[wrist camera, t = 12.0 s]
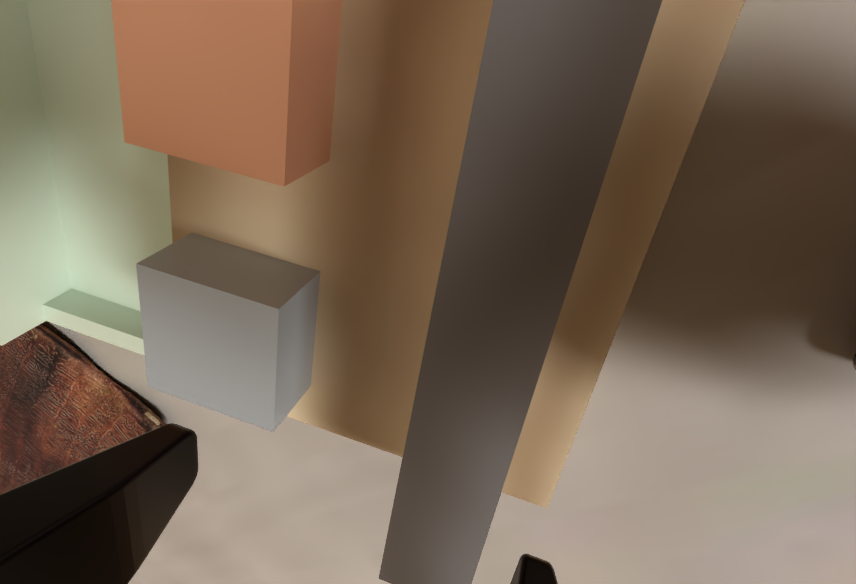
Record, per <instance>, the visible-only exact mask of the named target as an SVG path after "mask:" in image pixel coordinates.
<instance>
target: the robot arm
mask: <svg viewBox="0 0 856 584" xmlns="http://www.w3.org/2000/svg"><path fill="white" fill-rule="evenodd" d="M853 365H854V368H855V369H856V354H855V355H854V358H853ZM197 472H198V450H197V436H196V434H195V432H194V431H193V430H190V429H188V428H185V427H182V426H180V425H177V424H166V425H163V426H161V427H159V428H156V429H154V430H151V431H149V432H147V433H144V434H142V435H140V436H137V437H135V438H133V439H130V440H128V441H125V442H123V443H121V444H118V445H116V446H114V447H111V448H109V449H106V450H104V451H102V452H99V453H97V454H95V455H92V456H90V457H88V458H85V459H83V460H80V461H78V462H76V463H73V464H71V465H69V466H66V467H64V468H61V469H59V470H57V471H54V472H52V473H50V474H47V475H45V476H43V477H40V478H38V479H35V480H33V481H31V482H28V483H26V484H24V485H21V486H19V487H17V488H14V489H12V490H9V491H7V492H5V493H2V494H0V584H128V582H129V581H130V580H131V578H132V577H133V576H134V574H135V573H136V572H137V570H138V569H139V567H140V566H141V564H142V563H143V561H144V560H145V558H146V557H147V555H148V554H149V552H150V550H151V549H152V547H153V546H154V544H155V543H156V541H157V540H158V538H159V536H160V535H161V533H162V532H163V530H164V529H165V527H166V525H167V524H168V522H169V521H170V519H171V518H172V516H173V514H174V513H175V511H176V510H177V508H178V507H179V505H180V504H181V502H182V500H183V499H184V497H185V496H186V494H187V493H188V491H189V489H190V488H191V486H192V485H193V483H194V481H195V479H196V476H197ZM511 584H558V583H557V580H556V576H555V572H554V569H553V567H552V565H551V564H550V563H549V562H547V561H545V560H542V559H540V558H537V557H534V556H531V555H529V554H523V555H522V556H521V558H520V560H519V563H518V565H517V568H516V570H515V573H514V576H513V578H512V581H511Z"/></svg>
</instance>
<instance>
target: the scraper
mask: <svg viewBox="0 0 856 584" xmlns="http://www.w3.org/2000/svg"><path fill="white" fill-rule="evenodd" d="M661 3H662V0H493V5H492V10H491V15H490V20H489V25H488V30H487V35H486V40H485V45H484V50H483V55H482V60H481V65H480V70H479V75H478V80H477V85H476V90H475V95H474V100H473V105H472V111H471V116H470V121H469V126H468V131H467V136H466V141H465V146H464V151H463V156H462V161H461V166H460V171H459V176H458V181H457V186H456V191H455V196H454V201H453V206H452V211H451V216H450V222H449V227H448V232H447V237H446V242H445V247H444V252H443V257H442V262H441V267H440V272H439V277H438V282H437V287H436V292H435V297H434V302H433V307H432V312H431V317H430V322H429V327H428V332H427V338H426V343H425V348H424V353H423V358H422V363H421V368H420V373H419V378H418V383H417V388H416V393H415V398H414V403H413V408H412V413H411V418H410V423H409V428H408V433H407V438H406V443H405V448H404V454H403V459H402V464H401V469H400V474H399V479H398V484H397V489H396V494H395V499H394V504H393V509H392V514H391V519H390V524H389V529H388V534H387V539H386V544H385V549H384V554H383V559H382V564H381V570H380V575H379V579H381V580H384V581H386V582H389V583H391V584H471V583H472V580H473V577H474V574H475V571H476V568H477V565H478V562H479V559H480V556H481V553H482V550H483V547H484V544H485V540H486V537H487V534H488V531H489V528H490V525H491V522H492V519H493V516H494V513H495V510H496V507H497V504H498V501H499V498H500V495H501V492H502V489H503V486H504V482H505V479H506V476H507V473H508V470H509V467H510V464H511V461H512V458H513V455H514V452H515V449H516V446H517V443H518V440H519V437H520V434H521V431H522V428H523V424H524V421H525V418H526V415H527V412H528V409H529V406H530V403H531V400H532V397H533V394H534V391H535V388H536V385H537V382H538V379H539V376H540V373H541V370H542V366H543V363H544V360H545V357H546V354H547V351H548V348H549V345H550V342H551V339H552V336H553V333H554V330H555V327H556V324H557V321H558V318H559V315H560V312H561V308H562V305H563V302H564V299H565V296H566V293H567V290H568V287H569V284H570V281H571V278H572V275H573V272H574V269H575V266H576V263H577V260H578V257H579V254H580V250H581V247H582V244H583V241H584V238H585V235H586V232H587V229H588V226H589V223H590V220H591V217H592V214H593V211H594V208H595V205H596V202H597V199H598V196H599V193H600V189H601V186H602V183H603V180H604V177H605V174H606V171H607V168H608V165H609V162H610V159H611V156H612V153H613V150H614V147H615V144H616V141H617V138H618V135H619V131H620V128H621V125H622V122H623V119H624V116H625V113H626V110H627V107H628V104H629V101H630V98H631V95H632V92H633V89H634V86H635V83H636V80H637V77H638V73H639V70H640V67H641V64H642V61H643V58H644V55H645V52H646V49H647V46H648V43H649V40H650V37H651V34H652V31H653V28H654V25H655V22H656V19H657V15H658V12H659V9H660V6H661Z"/></svg>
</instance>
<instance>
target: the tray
mask: <svg viewBox="0 0 856 584" xmlns="http://www.w3.org/2000/svg"><path fill="white" fill-rule="evenodd" d="M172 243H173V242H172V225H171V208H170V191H169V174H168V157H167V154H165V153H161V152H158V151H154V150H150V149H147V148H143V147H140V146H136V145H132V144H129V143H125V142H124V131H123V121H122V110H121V100H120V89H119V79H118V68H117V57H116V47H115V36H114V26H113V15H112V5H111V0H0V345H1V346H2V345H4V344H6V343H8V342H9V341H11V340H13V339H15V338H17V337H18V336H20V335H22V334H24V333H25V332H27V331H29V330H31V329H32V328H34V327H36V326H38V325H39V324H41V323H43V322H45V321H48V322H50V323H53V324H56V325H59V326H62V327H65V328H67V329H70V330H73V331H76V332H79V333H82V334H85V335H87V336H90V337H93V338H96V339H99V340H102V341H105V342H107V343H110V344H113V345H116V346H119V347H122V348H125V349H127V350H130V351H133V352H136V353H139V354H142V355H145V353H144V342H143V332H142V321H141V311H140V300H139V290H138V279H137V269H136V263H138V262H140V261H142V260H143V259H145V258H147V257H149V256H151V255H152V254H154V253H156V252H158V251H160V250H161V249H163V248H165V247H167V246H169V245H170V244H172Z"/></svg>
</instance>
